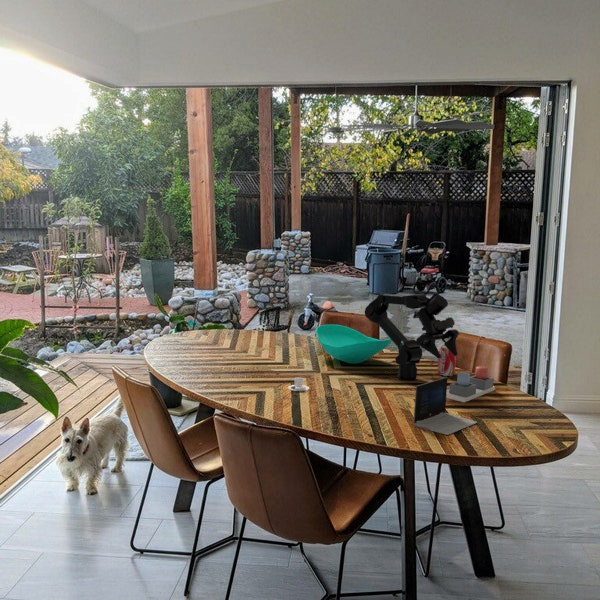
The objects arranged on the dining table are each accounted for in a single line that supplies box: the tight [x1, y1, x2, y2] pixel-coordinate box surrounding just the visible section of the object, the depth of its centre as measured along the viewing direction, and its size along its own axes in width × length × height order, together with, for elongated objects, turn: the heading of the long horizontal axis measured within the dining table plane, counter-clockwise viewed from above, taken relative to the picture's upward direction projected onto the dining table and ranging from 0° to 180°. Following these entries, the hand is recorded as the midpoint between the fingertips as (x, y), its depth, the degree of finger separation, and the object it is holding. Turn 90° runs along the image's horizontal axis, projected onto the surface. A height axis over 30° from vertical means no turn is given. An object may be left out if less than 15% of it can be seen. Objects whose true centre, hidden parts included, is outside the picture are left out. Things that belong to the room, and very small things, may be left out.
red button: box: [474, 365, 489, 380], centre depth 246 cm, size 4×4×5 cm
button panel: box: [446, 374, 496, 403], centre depth 242 cm, size 10×24×5 cm, turn 138°
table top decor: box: [315, 323, 393, 364], centre depth 284 cm, size 40×28×13 cm
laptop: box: [413, 376, 478, 436], centre depth 205 cm, size 18×12×13 cm
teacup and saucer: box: [287, 376, 310, 392], centre depth 240 cm, size 9×8×4 cm
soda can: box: [437, 344, 457, 377], centre depth 267 cm, size 7×7×12 cm
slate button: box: [456, 371, 471, 387], centre depth 235 cm, size 4×4×5 cm
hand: (448, 356), depth 242 cm, fingers open, 9 cm apart
